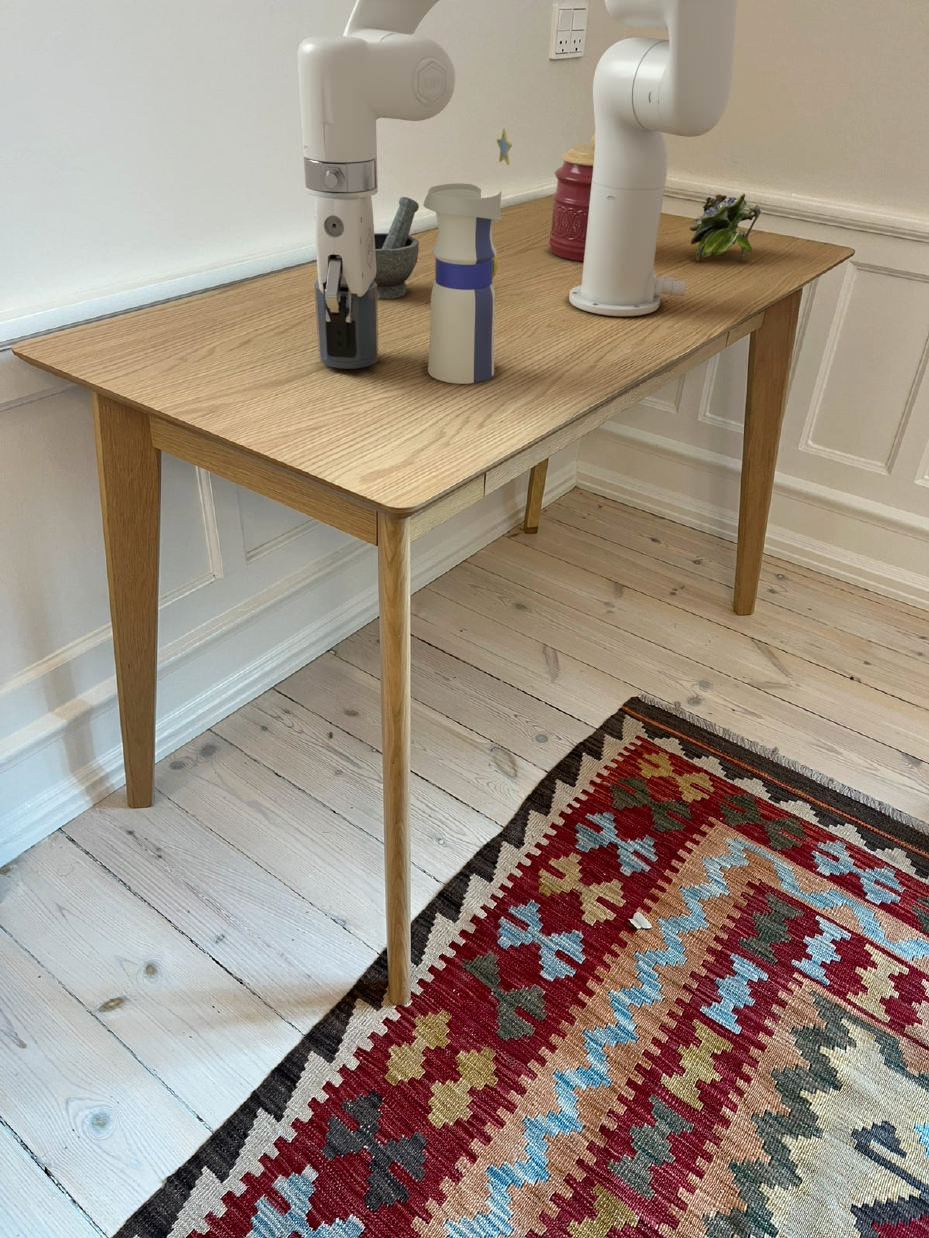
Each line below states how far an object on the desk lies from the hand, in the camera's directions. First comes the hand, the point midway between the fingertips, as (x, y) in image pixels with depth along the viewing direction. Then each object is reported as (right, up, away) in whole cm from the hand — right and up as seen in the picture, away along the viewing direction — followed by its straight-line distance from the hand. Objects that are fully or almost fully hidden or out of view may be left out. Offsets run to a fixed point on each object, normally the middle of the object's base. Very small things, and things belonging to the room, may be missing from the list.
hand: (348, 343), depth 107 cm
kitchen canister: (+34, +28, +45) cm, 63 cm away
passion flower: (+56, +28, +46) cm, 77 cm away
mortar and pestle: (+2, +15, +25) cm, 29 cm away
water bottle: (+13, -3, +1) cm, 13 cm away
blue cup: (0, -1, +1) cm, 2 cm away
